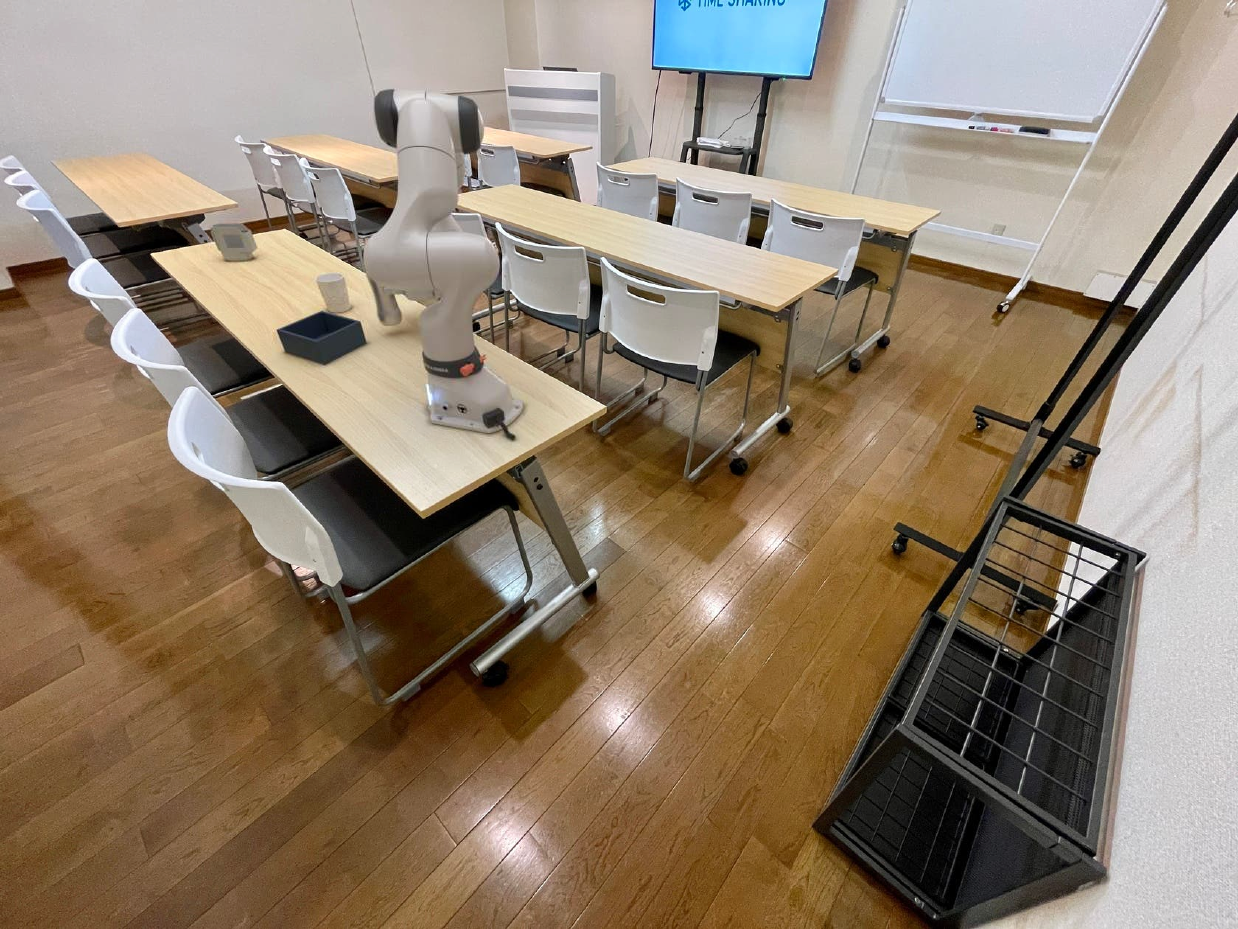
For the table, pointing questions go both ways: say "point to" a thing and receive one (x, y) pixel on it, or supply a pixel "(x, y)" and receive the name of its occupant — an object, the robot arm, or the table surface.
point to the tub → (322, 337)
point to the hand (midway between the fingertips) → (379, 287)
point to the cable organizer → (233, 241)
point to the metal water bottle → (385, 305)
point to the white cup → (334, 292)
